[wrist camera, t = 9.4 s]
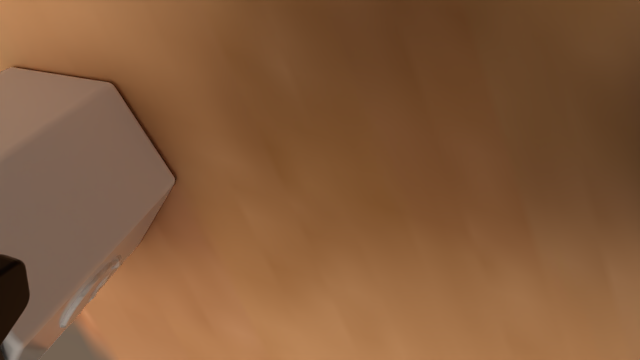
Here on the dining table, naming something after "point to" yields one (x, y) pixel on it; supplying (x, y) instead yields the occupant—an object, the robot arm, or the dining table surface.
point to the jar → (70, 195)
